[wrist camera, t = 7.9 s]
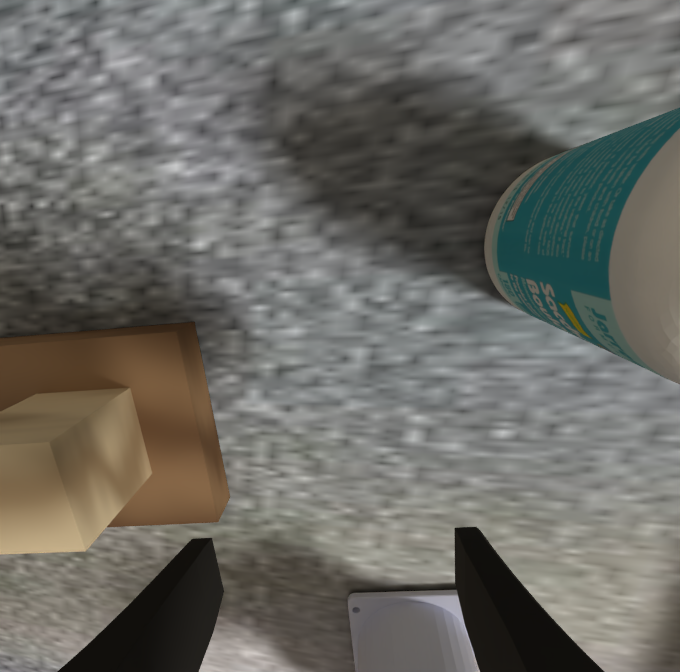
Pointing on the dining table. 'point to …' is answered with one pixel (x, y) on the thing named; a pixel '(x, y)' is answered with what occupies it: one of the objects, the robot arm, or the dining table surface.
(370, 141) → the dining table surface
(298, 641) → the dining table surface
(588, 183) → the pill bottle
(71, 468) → the maple cube
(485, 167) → the dining table surface
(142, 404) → the walnut stand
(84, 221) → the dining table surface
